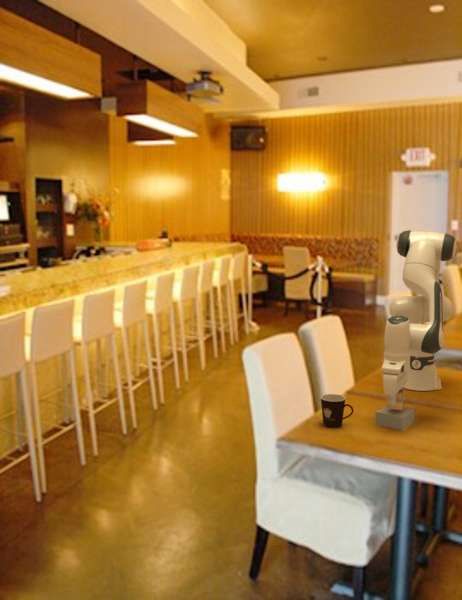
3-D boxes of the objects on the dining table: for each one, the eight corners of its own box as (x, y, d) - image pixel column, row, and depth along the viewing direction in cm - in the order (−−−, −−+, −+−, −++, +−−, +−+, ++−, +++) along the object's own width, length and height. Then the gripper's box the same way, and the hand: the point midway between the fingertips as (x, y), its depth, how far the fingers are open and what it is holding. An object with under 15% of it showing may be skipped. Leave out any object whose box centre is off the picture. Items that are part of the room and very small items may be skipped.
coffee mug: (315, 423, 214) (315, 395, 213) (336, 419, 218) (336, 392, 216) (333, 433, 204) (334, 405, 202) (354, 429, 207) (355, 401, 206)
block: (387, 417, 220) (388, 404, 219) (414, 423, 213) (414, 410, 213) (375, 425, 212) (375, 411, 211) (402, 431, 206) (402, 417, 205)
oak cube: (390, 404, 215) (390, 387, 214) (404, 406, 213) (404, 389, 212) (386, 408, 211) (387, 391, 210) (401, 410, 209) (401, 393, 208)
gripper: (394, 355, 220) (393, 392, 222) (380, 368, 202) (379, 408, 204) (412, 357, 217) (411, 394, 219) (399, 370, 199) (398, 411, 201)
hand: (395, 401), depth 212 cm, fingers closed on oak cube, 5 cm apart
